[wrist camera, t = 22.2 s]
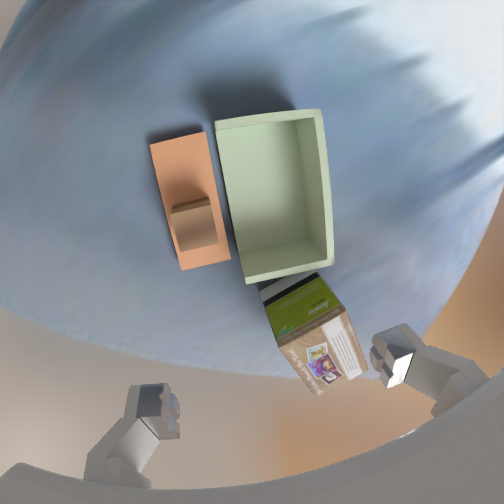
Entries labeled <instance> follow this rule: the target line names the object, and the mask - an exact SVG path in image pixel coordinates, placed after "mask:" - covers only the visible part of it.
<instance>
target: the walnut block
mask: <svg viewBox="0 0 504 504" xmlns="http://www.w3.org/2000/svg"><path fill="white" fill-rule="evenodd" d="M170 217H171V221H172V224H173V228H174V232H175V235H176V239H177V243H178V246H179V250H180V252H184V251H188V250H193V249H197V248H201V247H205V246H210V245H214V244H218V243H219V240H218V235H217V231H216V226H215V222H214V217H213V213H212V208H211V203H210V199H209V197H204V198H200V199H196V200H191V201H187V202H183V203H179V204H175V205H173V207H172V210H171V213H170Z"/></svg>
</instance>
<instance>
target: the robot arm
mask: <svg viewBox="0 0 504 504" xmlns="http://www.w3.org/2000/svg"><path fill="white" fill-rule="evenodd" d="M372 343H373V347H372V348H371V349H370V361H371V364H372V366H373V368H374V369H375V370H376V371H378V372H380V379H381V381H382V382H383V384H384V385H385V387H386V388H390V387H392V386H395V385H397V384H399V383H402V382H404V383H406V384H407V385H409V386H411V387H413V388H414V389H416V390H418V391H420V392H422V393H424V394H425V395H427V396H429V397H431V398H433V399H434V400H436V403H435V405H434V406H433V408H432V410H431V413H432V415H433V416H434V419H432V420H430V421H429V422H427V423H425V424H423V425H421V426H420V427H418V428H416V429H414V430H413V431H410V432H409V433H407V434H405V435H403V436H401V437H399V438H397V439H395V440H393V441H390V442H388V443H386V444H384V445H382V446H379V447H377V448H375V449H373V450H370V451H368V452H365V453H363V454H360V455H357V456H355V457H352V458H350V459H347V460H344V461H341V462H338V463H335V464H332V465H329V466H326V467H323V468H319V469H316V470H312V471H309V472H305V473H301V474H297V475H293V476H289V477H285V478H280V479H275V480H270V481H265V482H259V483H253V484H246V485H239V486H230V487H220V488H207V489H151V481H150V480H149V479H148V478H146V477H145V476H144V475H142V474H140V472H141V470H142V469H143V467H144V466H145V464H146V463H147V461H148V460H149V458H150V456H151V455H152V453H153V452H154V450H155V448H156V447H157V445H158V444H159V442H160V440H169V439H179V437H180V425H179V423H178V422H177V421H176V420H177V419H178V418H179V416H180V408H179V402H178V400H177V398H176V396H175V395H174V394H172V393H170V392H171V388H170V386H169V385H168V384H167V383H161V384H147V385H146V384H145V385H132V386H131V387H130V388H129V392H128V396H127V401H126V407H125V412H124V417H123V418H120V419H119V420H118V421H117V422H116V423H115V424H114V426H113V427H112V428H111V429H110V430H109V431H108V432H107V433H106V434H105V435H104V436H103V438H102V439H101V440H100V441H99V442H98V443H97V444H96V445H95V446H94V447H93V448H92V449H91V451H90V452H89V453H88V455H87V461H86V467H85V472H84V478H83V480H82V479H77V478H73V477H68V476H64V475H60V474H57V473H53V472H50V471H46V470H43V469H40V468H37V467H34V466H31V465H29V464H26V463H17V464H16V465H14V466H13V467H11V468H10V469H9V470H8V471H7V472H6V473H5V474H3V475H2V476H1V477H0V504H504V367H503V368H502V369H501V370H500V371H499V372H498V373H497V374H495V375H494V376H493V377H492V378H491V379H489V378H488V377H487V376H486V375H485V374H484V372H483V371H482V370H481V369H480V368H479V366H478V365H477V364H476V363H475V362H474V361H473V360H470V359H467V358H464V357H461V356H459V355H456V354H453V353H450V352H447V351H444V350H442V349H439V348H436V347H433V346H430V345H429V346H426V345H425V344H424V342H423V341H422V340H421V339H420V338H419V337H418V336H417V334H416V333H415V332H414V331H413V330H412V329H411V328H410V327H409V325H408V324H406V323H404V324H401V325H399V326H396V327H393V328H390V329H388V330H385V331H383V332H380V333H378V334H375V335H374V336H373V337H372Z"/></svg>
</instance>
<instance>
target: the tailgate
mask: <svg viewBox="0 0 504 504" xmlns="http://www.w3.org/2000/svg"><path fill="white" fill-rule="evenodd" d="M150 148H151V153H152V158H153V162H154V167H155V171H156V176H157V180H158V184H159V188H160V193H161V197H162V201H163V205H164V209H165V212H166V216H167V220H168V224H169V227H170V231H171V235H172V238H173V242H174V245H175V249H176V252H177V256H178V259H179V262H180V266H181V269H182V270H187V269H191V268H195V267H200V266H204V265H208V264H212V263H217V262H221V261H225V260H230V259H231V256H230V251H229V247H228V242H227V237H226V233H225V228H224V223H223V218H222V213H221V208H220V203H219V199H218V194H217V189H216V184H215V179H214V173H213V168H212V163H211V158H210V153H209V148H208V142H207V137H206V132H201V133H196V134H192V135H187V136H183V137H179V138H175V139H170V140H166V141H163V142H159V143H155V144H151V145H150ZM204 197H209V199H210V203H211V208H212V213H213V217H214V222H215V226H216V231H217V235H218V240H219V243H218V244H214V245H210V246H205V247H201V248H197V249H193V250H188V251H184V252H180V250H179V246H178V243H177V239H176V235H175V232H174V228H173V224H172V221H171V217H170V213H171V210H172V207H173V205H175V204H179V203H183V202H187V201H191V200H196V199H200V198H204Z"/></svg>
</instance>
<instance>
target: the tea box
mask: <svg viewBox="0 0 504 504" xmlns="http://www.w3.org/2000/svg"><path fill="white" fill-rule="evenodd" d="M260 295H261V299H262V302H263V304H264V307H265V310H266V313H267V316H268V319H269V322H270V324H271V327H272V330H273V333H274V337H275V340H276V342H277V345H278V347H279V349H280V350H281V352H282V353H283V355H284V356H285V357H286V358H287V360H288V361H289V362H290V364H291V365H292V366H293V368H294V369H295V370H296V372H297V373H298V374H299V376H300V377H301V378H302V380H303V381H304V382H305V384H306V385H307V386H308V388H309V389H310V390H311V391H312V393H313V394H314V395H315V396H316V397H319V396H321V395H323V394H325V393H327V392H329V391H331V390H332V389H334V388H336V387H338V386H340V385H342V384H343V383H345V382H347V381H349V380H350V379H352V378H354V377H356V376H357V375H359V374H361V373H362V372H364V371H366V370H368V366H367V363H366V360H365V357H364V355H363V352H362V350H361V347H360V344H359V342H358V339H357V337H356V334H355V331H354V328H353V326H352V323H351V321H350V318H349V316H348V314H347V311H346V309H345V308H344V306H343V305H342V303H341V302H340V301H339V299H338V298H337V297H336V296H335V294H334V293H333V292H332V290H331V289H330V288H329V286H328V285H327V284H326V283H325V281H324V280H323V279H322V278H321V276H320V275H319V274H318V273H317V271H316V270H315V269H313V270H309V271H304V272H300V273H296V274H291V275H288V276H286V277H284V278H282V279H280V280H279V281H277V282H275V283H273V284H271V285H270V286H268V287H266V288H264V289H263V290H261V291H260Z"/></svg>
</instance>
